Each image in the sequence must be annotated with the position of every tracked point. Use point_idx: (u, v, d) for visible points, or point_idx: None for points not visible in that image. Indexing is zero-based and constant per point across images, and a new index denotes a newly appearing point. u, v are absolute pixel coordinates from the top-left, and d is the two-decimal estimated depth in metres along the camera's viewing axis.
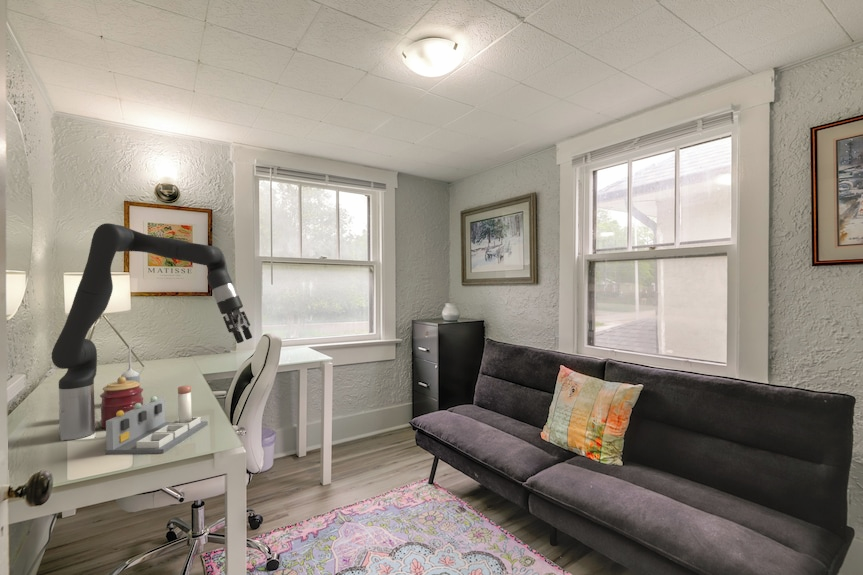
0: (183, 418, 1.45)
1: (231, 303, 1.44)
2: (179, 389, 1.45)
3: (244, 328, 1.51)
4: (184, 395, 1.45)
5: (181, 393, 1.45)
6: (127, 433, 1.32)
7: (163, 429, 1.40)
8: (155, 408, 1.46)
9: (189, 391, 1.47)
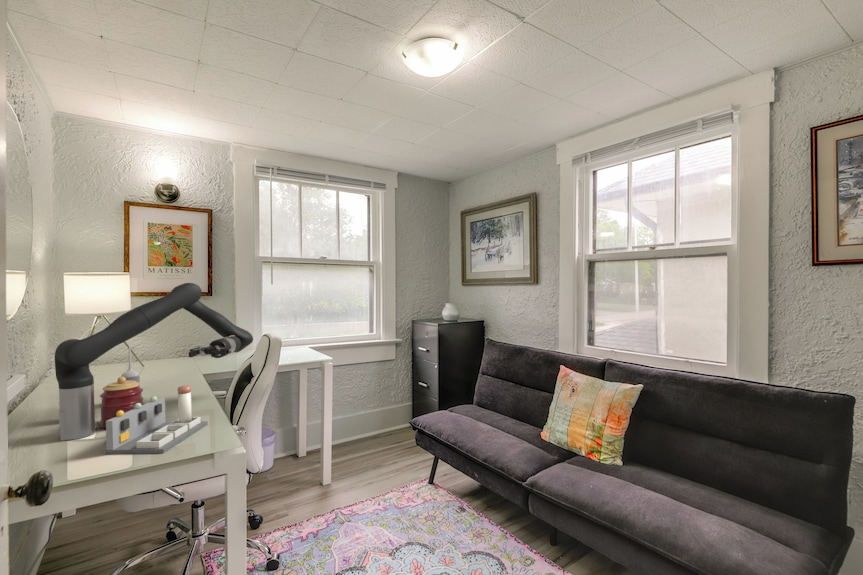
0: (183, 418, 1.45)
1: None
2: (179, 389, 1.45)
3: (196, 352, 1.62)
4: (184, 395, 1.45)
5: (181, 393, 1.45)
6: (127, 433, 1.32)
7: (163, 429, 1.40)
8: (155, 408, 1.46)
9: (189, 391, 1.47)
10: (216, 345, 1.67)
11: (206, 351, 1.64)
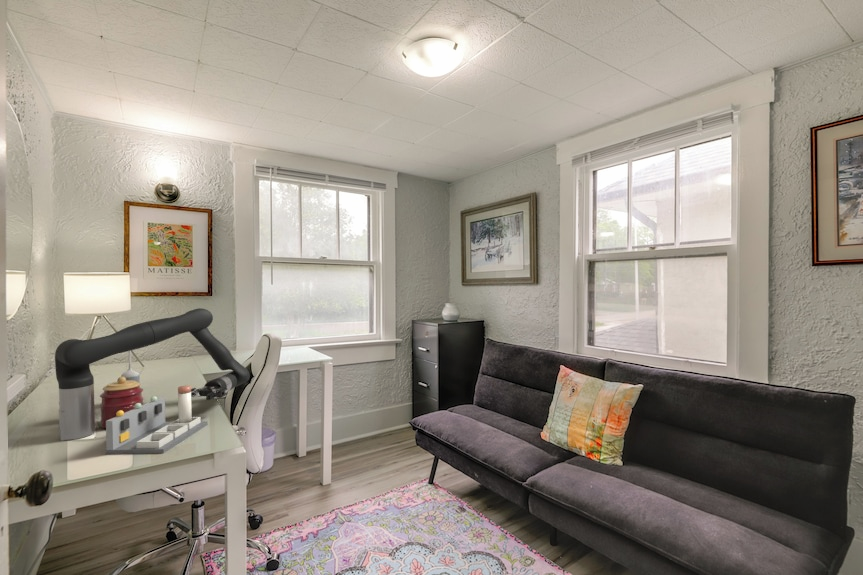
0: (183, 418, 1.45)
1: None
2: (179, 389, 1.45)
3: (191, 394, 1.59)
4: (184, 395, 1.45)
5: (181, 393, 1.45)
6: (127, 433, 1.32)
7: (163, 429, 1.40)
8: (155, 408, 1.46)
9: (189, 391, 1.47)
10: (211, 386, 1.63)
11: (201, 393, 1.60)
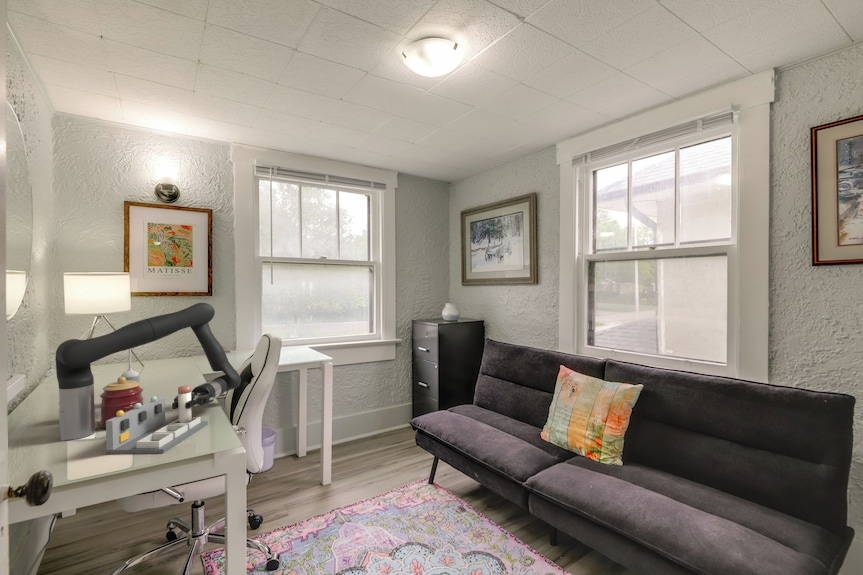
0: (183, 418, 1.45)
1: None
2: (179, 389, 1.45)
3: None
4: (184, 395, 1.45)
5: (181, 393, 1.45)
6: (127, 433, 1.32)
7: (163, 429, 1.40)
8: (155, 408, 1.46)
9: (189, 391, 1.47)
10: (199, 392, 1.54)
11: None
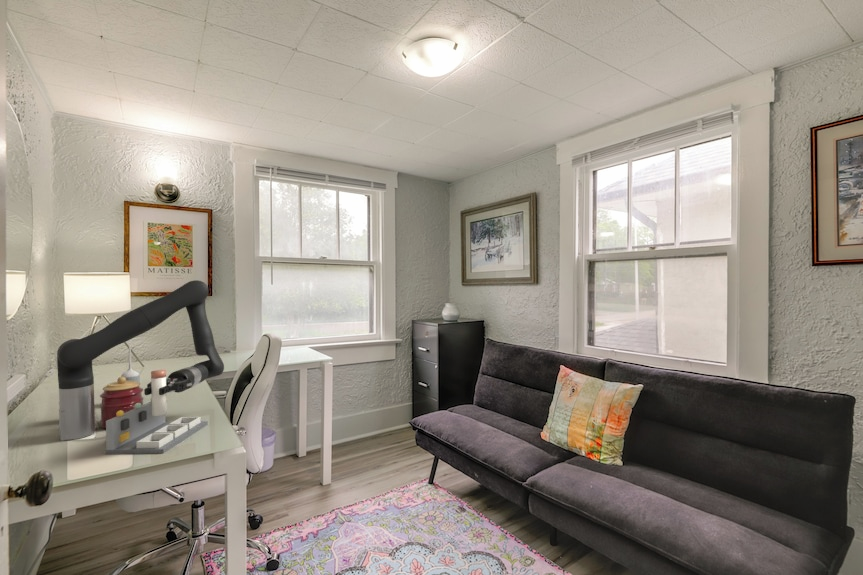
0: (157, 405, 1.32)
1: None
2: (152, 373, 1.31)
3: None
4: (158, 380, 1.32)
5: (155, 377, 1.31)
6: (127, 433, 1.32)
7: (163, 429, 1.40)
8: None
9: (164, 375, 1.33)
10: (176, 378, 1.41)
11: None
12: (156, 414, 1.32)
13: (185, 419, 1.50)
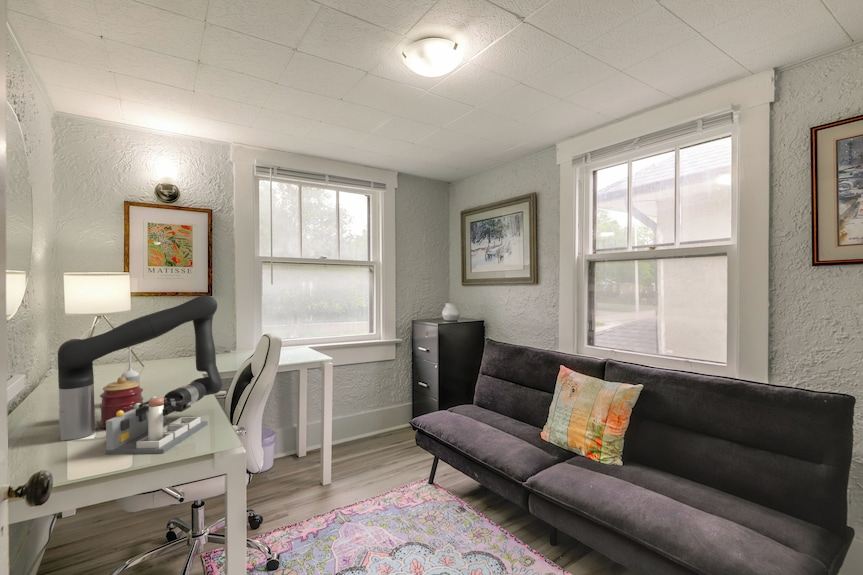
0: (153, 434, 1.30)
1: None
2: (150, 401, 1.30)
3: (146, 408, 1.33)
4: (155, 408, 1.30)
5: (152, 406, 1.30)
6: (127, 433, 1.32)
7: (163, 429, 1.40)
8: None
9: (161, 404, 1.32)
10: (172, 398, 1.38)
11: None
12: None
13: (185, 419, 1.50)
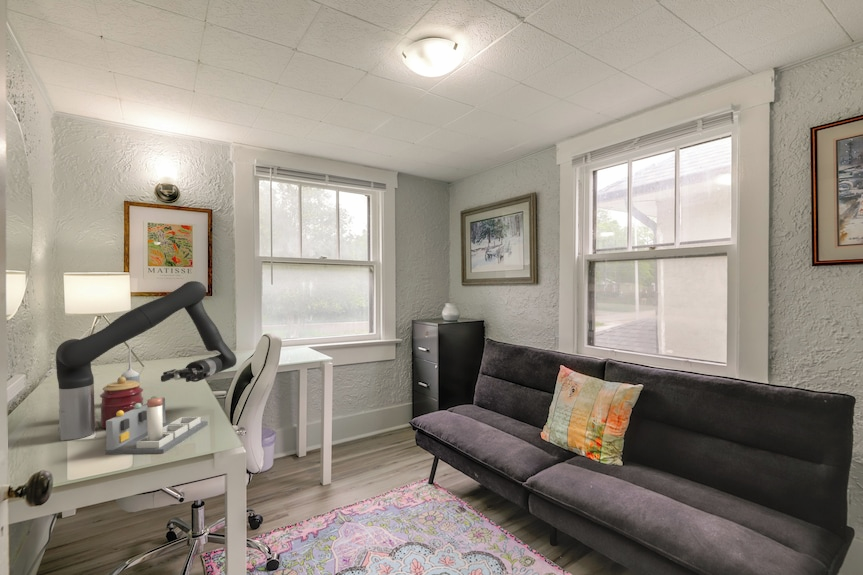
0: (152, 434, 1.30)
1: None
2: (148, 402, 1.30)
3: (170, 375, 1.46)
4: (154, 408, 1.30)
5: (150, 406, 1.30)
6: (127, 433, 1.32)
7: (163, 429, 1.40)
8: None
9: (160, 404, 1.31)
10: (193, 368, 1.51)
11: (181, 374, 1.48)
12: None
13: (185, 419, 1.50)
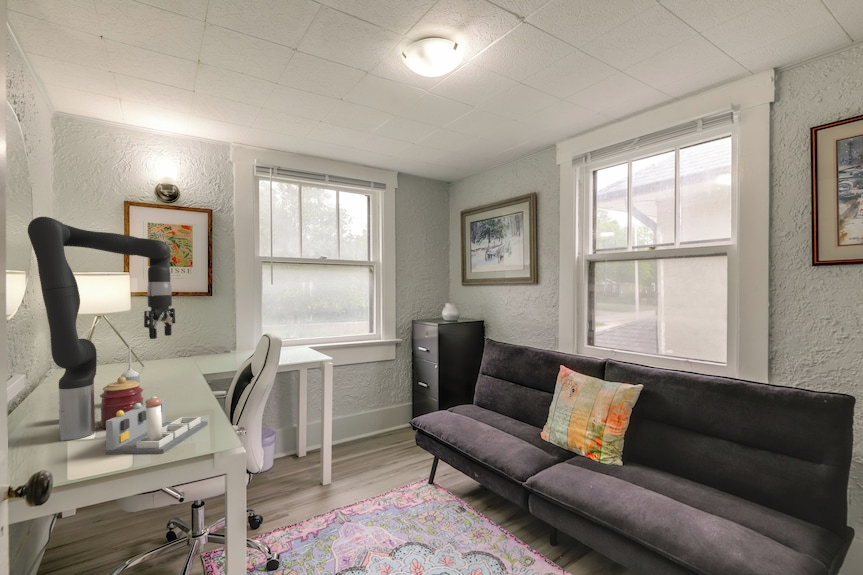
0: (152, 434, 1.29)
1: (159, 300, 1.51)
2: (147, 402, 1.29)
3: (167, 324, 1.59)
4: (152, 409, 1.29)
5: (149, 407, 1.29)
6: (127, 433, 1.32)
7: (163, 429, 1.40)
8: None
9: (158, 404, 1.31)
10: None
11: (162, 320, 1.56)
12: None
13: (185, 419, 1.50)
